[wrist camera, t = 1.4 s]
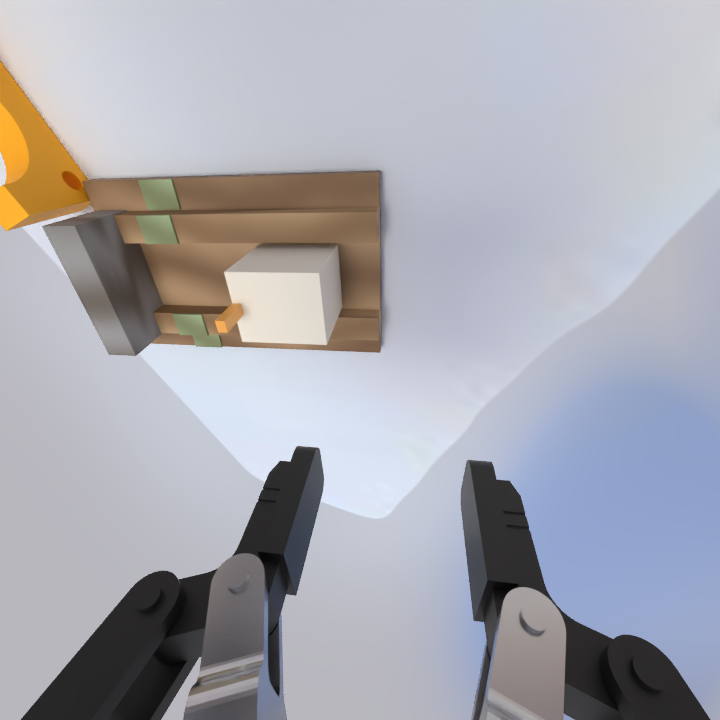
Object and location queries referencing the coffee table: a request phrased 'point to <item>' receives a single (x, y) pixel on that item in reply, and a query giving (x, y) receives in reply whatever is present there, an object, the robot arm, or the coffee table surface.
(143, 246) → the gauge board
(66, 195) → the pipe clamp
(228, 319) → the white cube with stick
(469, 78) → the coffee table surface
